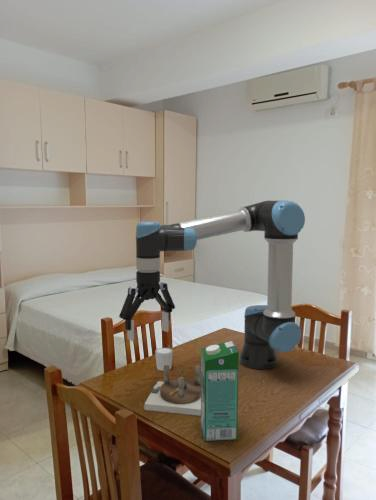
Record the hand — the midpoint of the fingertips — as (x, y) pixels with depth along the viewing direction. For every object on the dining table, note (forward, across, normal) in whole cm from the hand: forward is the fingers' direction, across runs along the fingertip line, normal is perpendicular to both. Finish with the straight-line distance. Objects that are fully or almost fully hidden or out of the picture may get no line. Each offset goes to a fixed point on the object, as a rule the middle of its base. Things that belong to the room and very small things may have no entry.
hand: (148, 335), depth 130 cm
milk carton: (+22, -4, +29) cm, 36 cm away
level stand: (+21, -7, +9) cm, 24 cm away
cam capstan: (+19, -7, +8) cm, 22 cm away
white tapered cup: (+22, -18, -16) cm, 32 cm away
